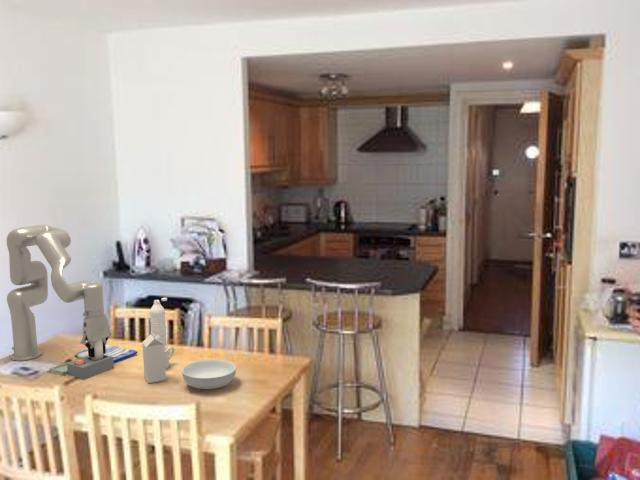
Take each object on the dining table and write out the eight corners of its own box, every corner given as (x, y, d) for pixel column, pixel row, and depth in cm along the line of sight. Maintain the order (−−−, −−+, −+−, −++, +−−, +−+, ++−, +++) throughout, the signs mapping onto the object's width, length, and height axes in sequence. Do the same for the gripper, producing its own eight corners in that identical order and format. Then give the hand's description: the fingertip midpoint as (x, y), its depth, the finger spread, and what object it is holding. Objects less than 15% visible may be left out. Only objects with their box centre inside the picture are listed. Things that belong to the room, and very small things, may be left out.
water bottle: (158, 357, 267) (155, 302, 264) (149, 354, 271) (146, 300, 268) (173, 352, 274) (171, 298, 271) (164, 349, 278) (161, 296, 275)
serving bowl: (212, 399, 221) (211, 381, 220) (171, 388, 232) (170, 371, 231) (247, 381, 238) (247, 364, 237) (208, 371, 249) (207, 355, 248)
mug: (150, 374, 247) (149, 355, 246) (139, 367, 255) (138, 349, 254) (180, 366, 255) (179, 348, 254) (169, 360, 263) (168, 342, 262)
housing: (67, 375, 247) (66, 363, 246) (98, 364, 260) (97, 353, 259) (83, 379, 242) (82, 367, 241) (113, 368, 254) (113, 356, 254)
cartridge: (89, 365, 253) (87, 335, 251) (98, 361, 257) (97, 332, 255) (96, 367, 250) (94, 337, 248) (106, 363, 254) (104, 334, 252)
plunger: (74, 369, 246) (74, 360, 245) (81, 367, 248) (80, 358, 248) (79, 370, 244) (78, 361, 243) (85, 368, 247) (85, 359, 246)
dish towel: (105, 347, 284) (105, 341, 284) (139, 355, 271) (139, 349, 271) (73, 358, 270) (72, 352, 269) (107, 367, 257) (107, 361, 257)
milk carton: (148, 383, 236) (145, 337, 234) (144, 378, 243) (141, 332, 240) (166, 380, 240) (163, 334, 237) (162, 375, 246) (159, 330, 243)
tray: (50, 372, 251) (50, 368, 251) (69, 365, 258) (69, 361, 258) (63, 375, 246) (63, 372, 246) (82, 369, 254) (82, 365, 253)
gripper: (82, 318, 241) (85, 362, 244) (117, 309, 255) (119, 350, 258) (70, 316, 245) (74, 359, 248) (105, 307, 259) (108, 347, 262)
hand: (97, 354), depth 253 cm, fingers closed on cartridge, 4 cm apart
